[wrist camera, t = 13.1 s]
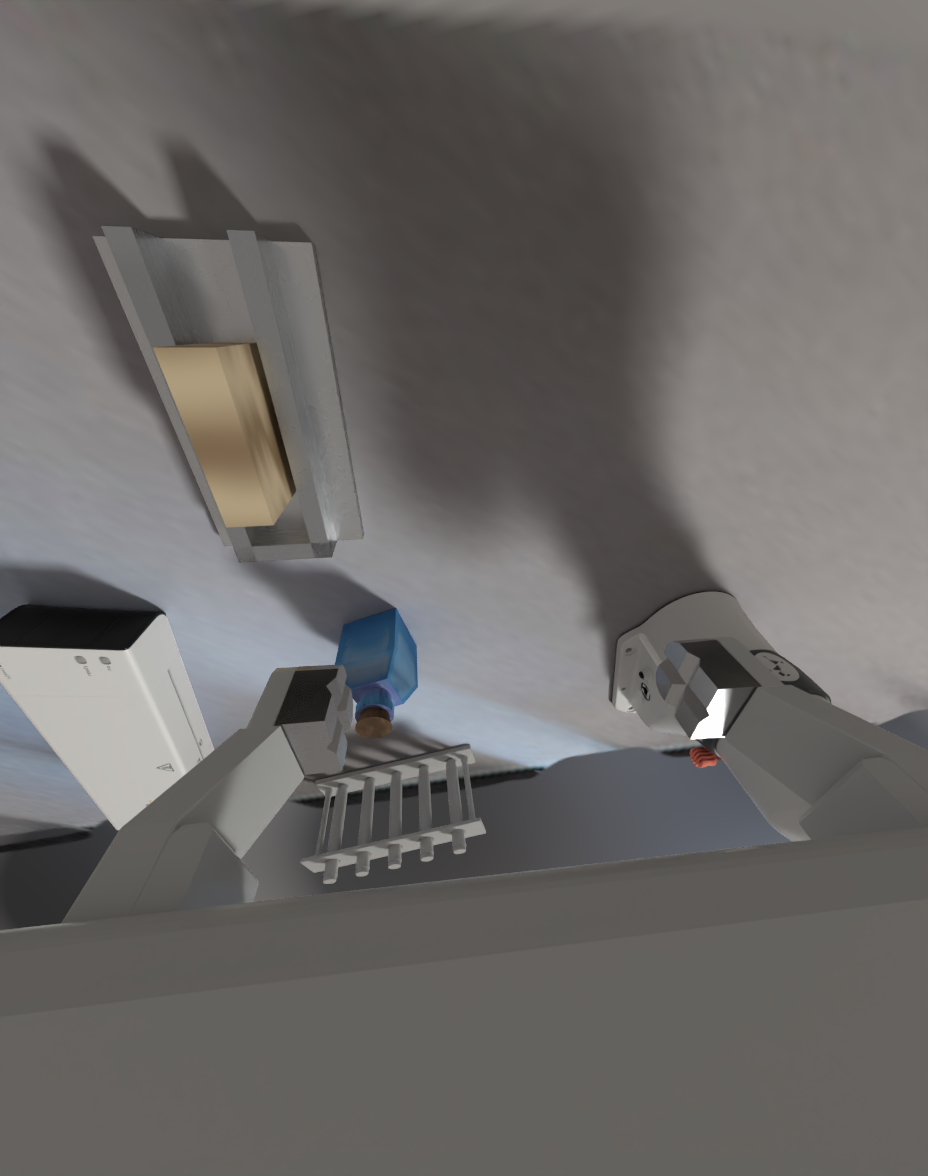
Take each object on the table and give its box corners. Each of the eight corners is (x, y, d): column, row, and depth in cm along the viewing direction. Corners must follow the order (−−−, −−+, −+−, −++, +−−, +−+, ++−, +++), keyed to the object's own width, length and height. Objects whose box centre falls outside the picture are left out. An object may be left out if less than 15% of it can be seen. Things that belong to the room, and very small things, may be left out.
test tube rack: (327, 792, 60) (310, 892, 50) (315, 779, 58) (294, 882, 47) (474, 757, 60) (489, 851, 49) (469, 743, 57) (484, 839, 47)
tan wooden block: (298, 488, 30) (273, 525, 25) (260, 489, 30) (226, 527, 24) (259, 342, 24) (215, 347, 19) (211, 342, 24) (152, 347, 19)
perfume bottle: (416, 645, 44) (419, 736, 34) (368, 660, 44) (357, 754, 34) (396, 607, 40) (392, 697, 30) (343, 624, 40) (323, 718, 31)
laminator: (227, 781, 56) (209, 826, 51) (133, 784, 53) (105, 831, 48) (165, 604, 37) (126, 649, 32) (14, 596, 34) (-53, 643, 29)
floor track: (364, 533, 34) (359, 555, 31) (228, 540, 33) (209, 564, 30) (314, 245, 23) (299, 232, 20) (103, 239, 22) (50, 224, 18)
